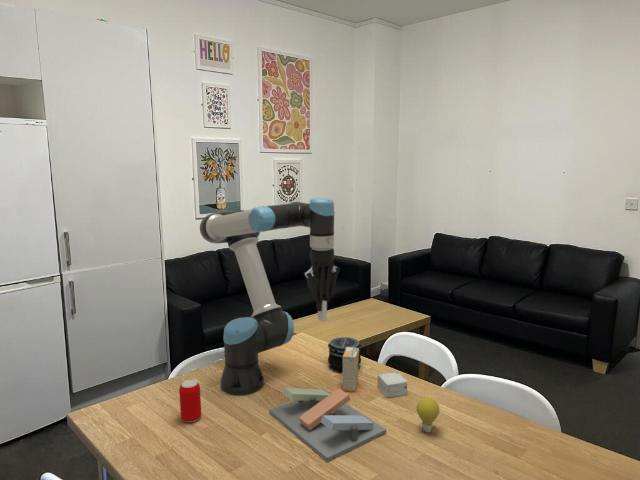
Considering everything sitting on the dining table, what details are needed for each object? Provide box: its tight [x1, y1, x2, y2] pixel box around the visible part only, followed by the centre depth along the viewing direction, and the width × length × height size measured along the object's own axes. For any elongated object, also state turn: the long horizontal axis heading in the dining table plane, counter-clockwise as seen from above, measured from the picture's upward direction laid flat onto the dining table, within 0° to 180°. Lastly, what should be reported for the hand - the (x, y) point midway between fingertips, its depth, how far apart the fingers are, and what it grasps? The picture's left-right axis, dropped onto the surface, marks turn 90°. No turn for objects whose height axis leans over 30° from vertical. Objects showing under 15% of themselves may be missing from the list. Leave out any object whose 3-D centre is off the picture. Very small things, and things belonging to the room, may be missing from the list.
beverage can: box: [178, 379, 202, 423], centre depth 148 cm, size 6×6×12 cm
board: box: [269, 389, 387, 463], centre depth 146 cm, size 30×22×5 cm
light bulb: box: [416, 397, 440, 433], centre depth 142 cm, size 7×7×10 cm
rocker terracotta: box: [299, 388, 351, 430], centre depth 145 cm, size 6×16×2 cm, turn 127°
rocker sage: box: [282, 387, 330, 402], centre depth 153 cm, size 6×16×2 cm, turn 127°
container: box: [327, 336, 362, 374], centre depth 183 cm, size 13×13×10 cm
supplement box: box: [341, 347, 359, 393], centre depth 168 cm, size 8×5×13 cm, turn 168°
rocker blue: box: [321, 415, 374, 431], centre depth 138 cm, size 6×16×2 cm, turn 127°
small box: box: [376, 371, 408, 399], centre depth 165 cm, size 8×8×5 cm
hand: (322, 319), depth 154 cm, fingers closed
